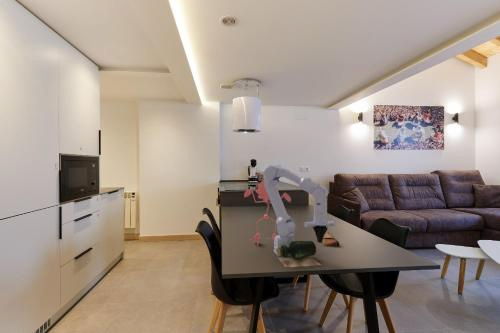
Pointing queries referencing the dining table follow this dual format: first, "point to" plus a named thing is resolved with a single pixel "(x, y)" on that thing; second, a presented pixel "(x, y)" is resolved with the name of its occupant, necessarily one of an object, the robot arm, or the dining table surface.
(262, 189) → the figurine
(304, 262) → the placemat
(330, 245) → the sunglasses case
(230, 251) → the dining table surface
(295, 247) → the potion bottle
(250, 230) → the dining table surface
